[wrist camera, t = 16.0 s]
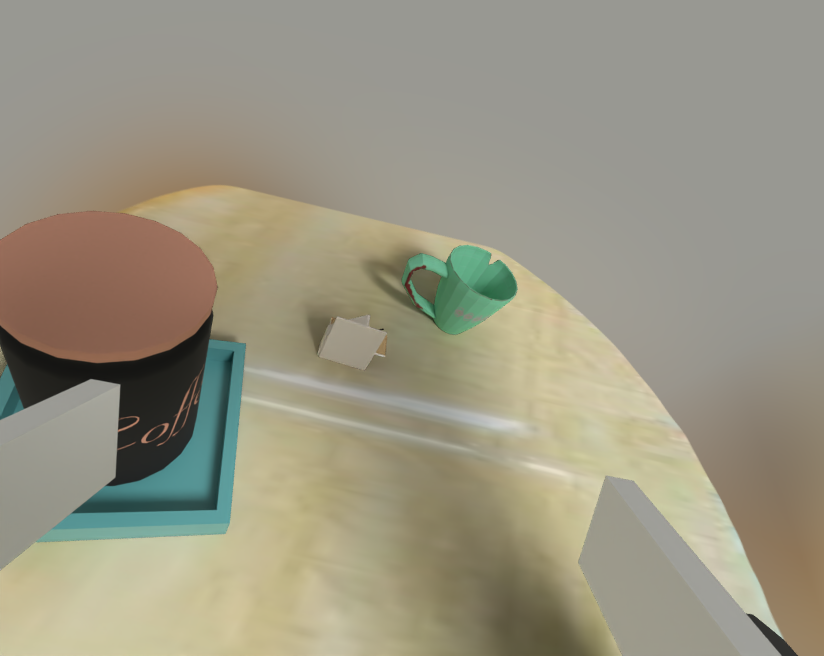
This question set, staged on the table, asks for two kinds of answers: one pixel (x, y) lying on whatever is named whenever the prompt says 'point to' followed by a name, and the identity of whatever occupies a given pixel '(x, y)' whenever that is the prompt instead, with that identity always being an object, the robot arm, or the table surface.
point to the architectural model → (352, 342)
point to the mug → (462, 287)
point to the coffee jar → (111, 324)
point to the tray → (168, 468)
